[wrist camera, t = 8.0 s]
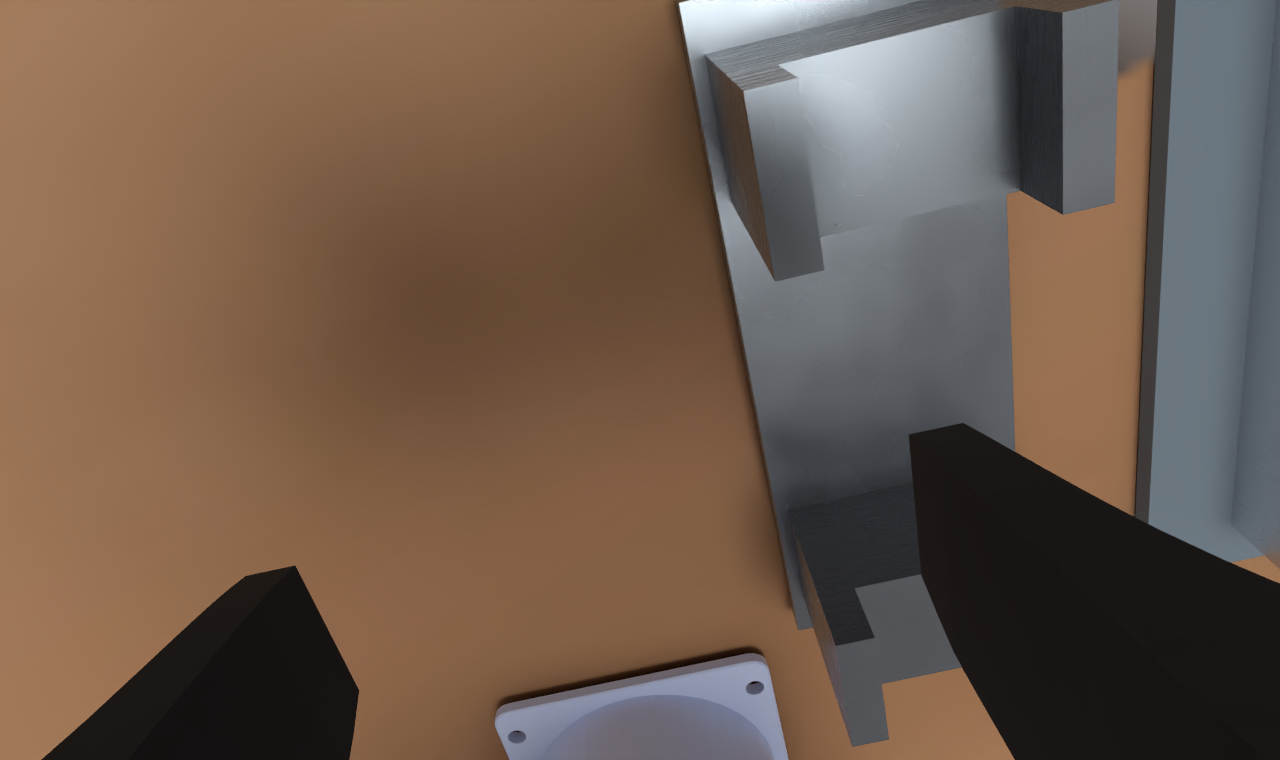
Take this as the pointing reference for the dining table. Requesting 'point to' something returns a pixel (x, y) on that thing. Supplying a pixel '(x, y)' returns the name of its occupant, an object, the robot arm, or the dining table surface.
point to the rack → (884, 265)
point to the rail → (1263, 352)
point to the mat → (1201, 263)
